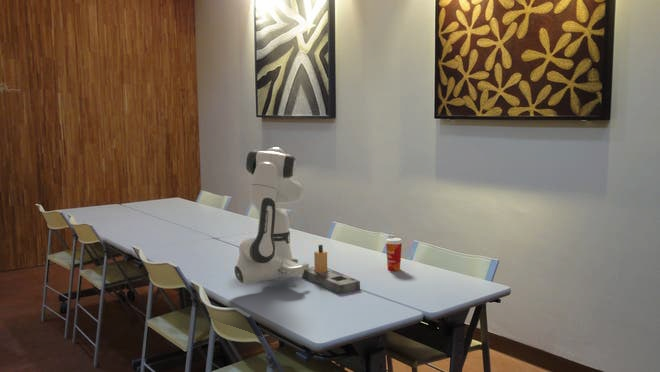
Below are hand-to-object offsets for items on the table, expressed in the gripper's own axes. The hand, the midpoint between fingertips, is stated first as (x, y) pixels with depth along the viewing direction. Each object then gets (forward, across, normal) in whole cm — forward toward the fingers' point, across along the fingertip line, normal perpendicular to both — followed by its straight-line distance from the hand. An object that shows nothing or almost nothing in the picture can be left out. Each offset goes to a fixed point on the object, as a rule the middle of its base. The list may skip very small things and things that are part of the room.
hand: (302, 263), depth 250 cm
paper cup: (+44, -7, +9) cm, 46 cm away
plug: (+9, 0, +8) cm, 12 cm away
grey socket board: (+9, -7, +8) cm, 14 cm away
